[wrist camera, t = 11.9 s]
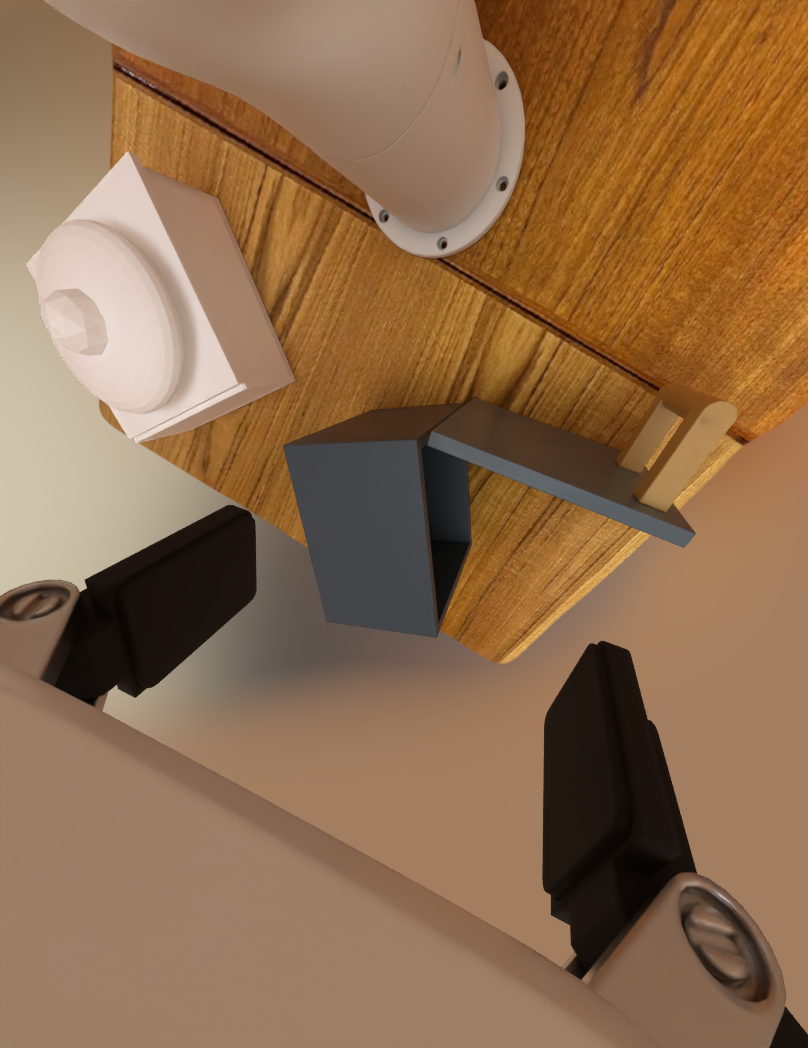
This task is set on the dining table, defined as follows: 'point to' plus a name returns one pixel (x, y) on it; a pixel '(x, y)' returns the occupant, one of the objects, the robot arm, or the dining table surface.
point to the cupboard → (384, 518)
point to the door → (598, 457)
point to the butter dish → (156, 305)
